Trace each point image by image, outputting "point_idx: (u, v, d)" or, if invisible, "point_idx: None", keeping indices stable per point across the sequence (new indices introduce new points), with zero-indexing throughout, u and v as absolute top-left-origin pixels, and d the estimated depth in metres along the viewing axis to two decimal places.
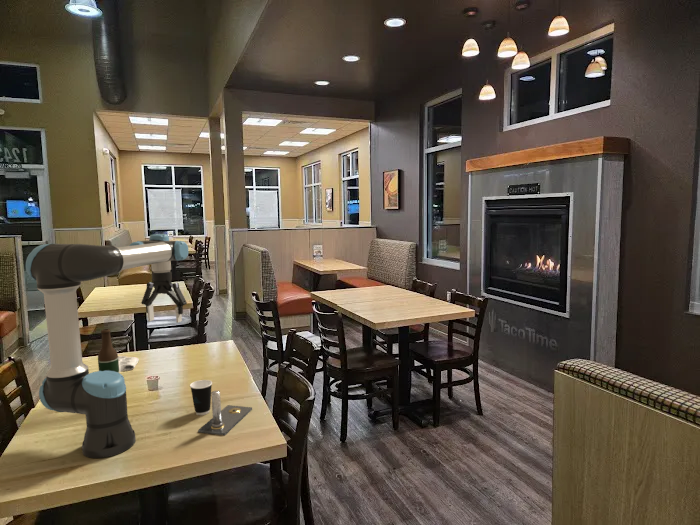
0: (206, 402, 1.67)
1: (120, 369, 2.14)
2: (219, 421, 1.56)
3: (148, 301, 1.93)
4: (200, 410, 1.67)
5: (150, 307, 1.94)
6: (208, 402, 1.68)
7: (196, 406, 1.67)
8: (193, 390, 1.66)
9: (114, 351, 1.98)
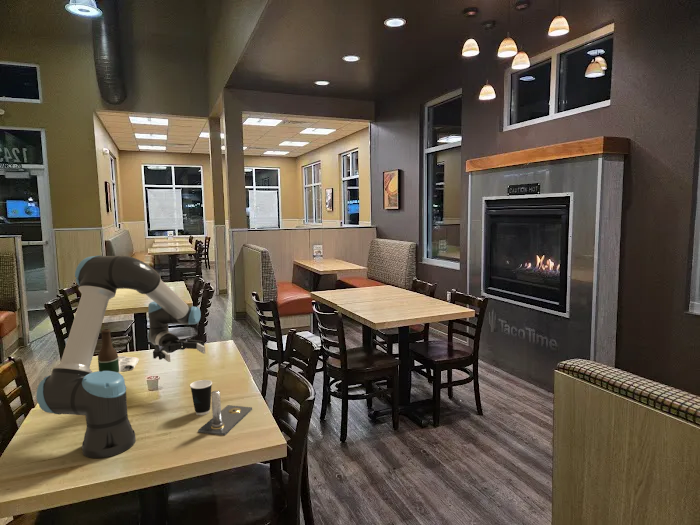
0: (206, 402, 1.67)
1: (120, 369, 2.14)
2: (219, 421, 1.56)
3: (161, 349, 1.78)
4: (200, 410, 1.67)
5: None
6: (208, 402, 1.68)
7: (196, 406, 1.67)
8: (193, 390, 1.66)
9: (114, 351, 1.98)
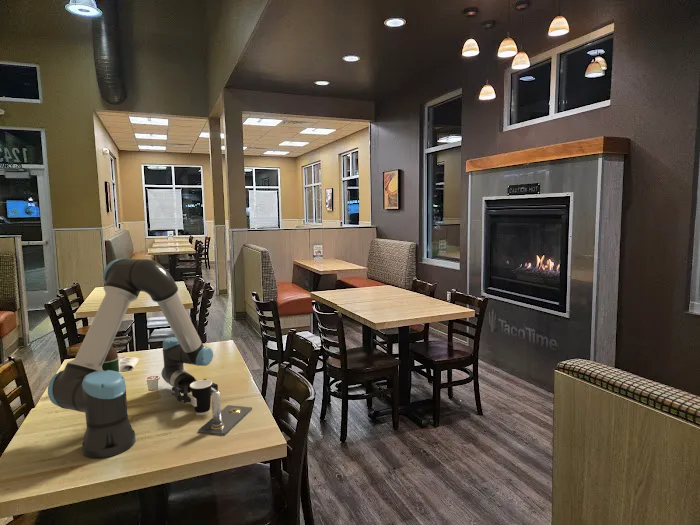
0: (206, 402, 1.67)
1: (119, 369, 2.14)
2: (219, 421, 1.56)
3: (185, 392, 1.69)
4: (200, 410, 1.67)
5: None
6: (208, 402, 1.68)
7: (196, 406, 1.67)
8: (193, 390, 1.66)
9: (114, 351, 1.98)
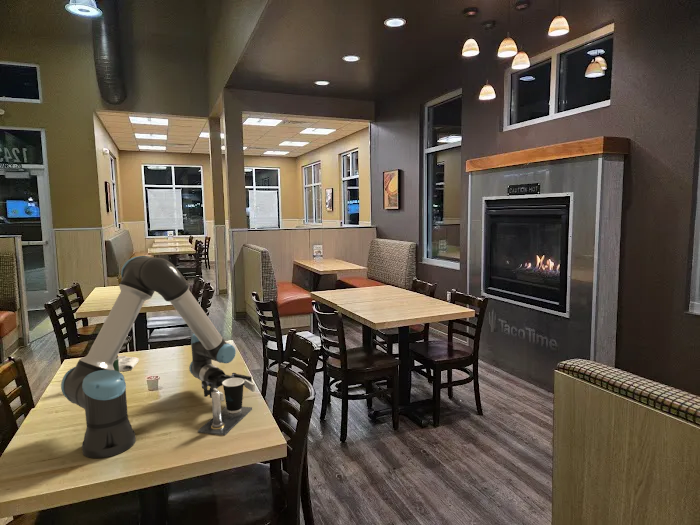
0: (238, 400, 1.66)
1: (119, 369, 2.14)
2: (219, 421, 1.56)
3: (212, 386, 1.67)
4: (232, 408, 1.66)
5: None
6: (240, 400, 1.67)
7: (228, 404, 1.66)
8: (226, 388, 1.65)
9: None
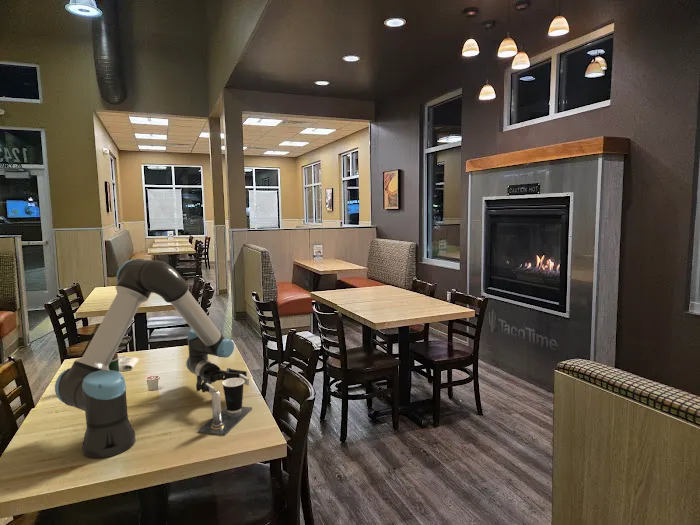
0: (238, 400, 1.66)
1: (119, 369, 2.14)
2: (219, 421, 1.56)
3: (204, 381, 1.72)
4: (232, 408, 1.66)
5: None
6: (240, 400, 1.67)
7: (228, 404, 1.66)
8: (226, 388, 1.64)
9: None
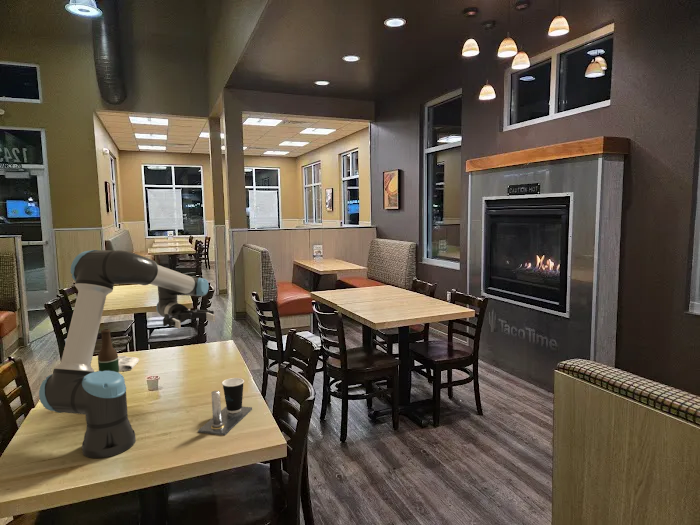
0: (238, 400, 1.66)
1: None
2: (219, 421, 1.56)
3: (171, 317, 1.77)
4: (232, 408, 1.66)
5: None
6: (240, 400, 1.67)
7: (228, 404, 1.66)
8: (225, 388, 1.65)
9: (114, 351, 1.98)
